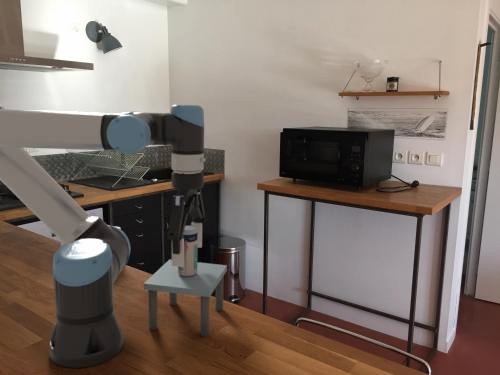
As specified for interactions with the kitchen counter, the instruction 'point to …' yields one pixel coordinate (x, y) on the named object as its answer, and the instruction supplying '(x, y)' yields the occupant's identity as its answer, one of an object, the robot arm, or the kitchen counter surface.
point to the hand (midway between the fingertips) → (187, 256)
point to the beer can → (189, 252)
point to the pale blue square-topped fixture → (187, 289)
